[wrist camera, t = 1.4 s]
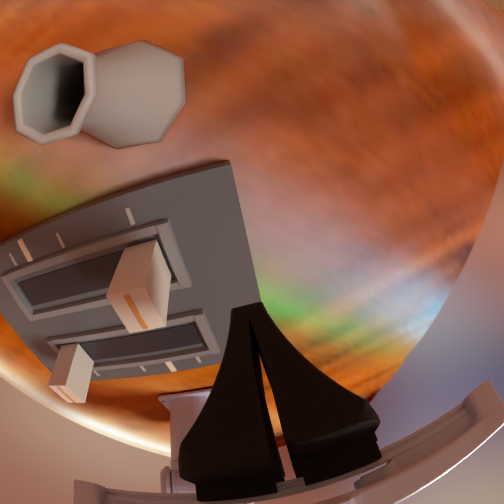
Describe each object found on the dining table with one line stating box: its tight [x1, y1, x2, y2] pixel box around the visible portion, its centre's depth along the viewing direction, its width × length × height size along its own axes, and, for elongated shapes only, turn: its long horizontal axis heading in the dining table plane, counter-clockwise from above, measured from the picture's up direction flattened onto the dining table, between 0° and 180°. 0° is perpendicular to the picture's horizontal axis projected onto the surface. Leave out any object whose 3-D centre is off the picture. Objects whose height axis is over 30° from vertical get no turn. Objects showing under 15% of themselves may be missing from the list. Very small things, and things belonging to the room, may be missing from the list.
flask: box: [12, 40, 186, 149], centre depth 9 cm, size 7×7×10 cm
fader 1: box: [48, 343, 94, 403], centre depth 20 cm, size 3×2×5 cm
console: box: [0, 160, 261, 381], centre depth 20 cm, size 18×26×2 cm
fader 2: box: [106, 239, 171, 333], centre depth 16 cm, size 3×2×5 cm
